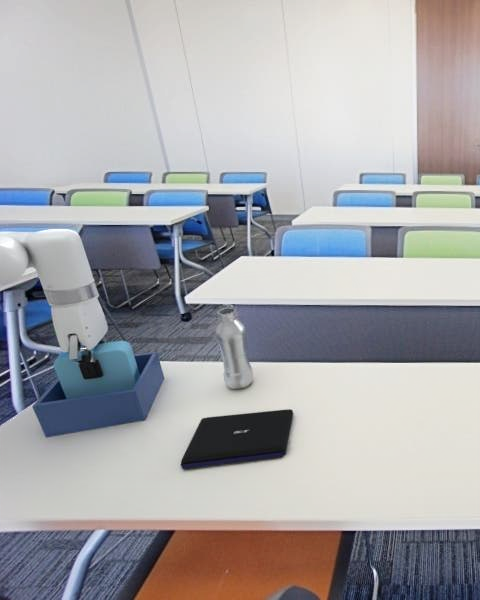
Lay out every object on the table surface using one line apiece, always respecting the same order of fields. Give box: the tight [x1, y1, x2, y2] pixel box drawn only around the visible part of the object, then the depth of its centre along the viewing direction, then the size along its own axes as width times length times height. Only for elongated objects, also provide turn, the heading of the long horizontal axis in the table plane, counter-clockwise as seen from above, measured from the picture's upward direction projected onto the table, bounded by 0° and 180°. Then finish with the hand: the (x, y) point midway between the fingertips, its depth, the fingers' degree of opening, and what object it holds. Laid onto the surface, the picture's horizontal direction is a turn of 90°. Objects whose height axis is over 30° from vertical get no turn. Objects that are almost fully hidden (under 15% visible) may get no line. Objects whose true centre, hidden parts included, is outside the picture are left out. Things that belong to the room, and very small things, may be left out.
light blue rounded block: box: [53, 340, 140, 399], centre depth 86 cm, size 12×4×12 cm, turn 117°
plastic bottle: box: [214, 307, 254, 390], centre depth 95 cm, size 6×7×20 cm
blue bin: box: [32, 351, 165, 438], centre depth 88 cm, size 17×17×8 cm
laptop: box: [180, 408, 294, 470], centre depth 81 cm, size 16×20×2 cm
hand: (99, 369), depth 86 cm, fingers closed on light blue rounded block, 4 cm apart
